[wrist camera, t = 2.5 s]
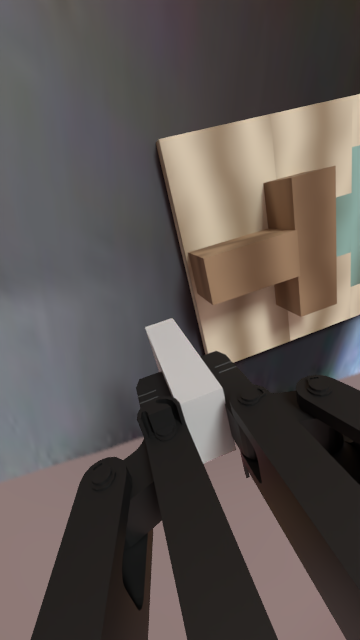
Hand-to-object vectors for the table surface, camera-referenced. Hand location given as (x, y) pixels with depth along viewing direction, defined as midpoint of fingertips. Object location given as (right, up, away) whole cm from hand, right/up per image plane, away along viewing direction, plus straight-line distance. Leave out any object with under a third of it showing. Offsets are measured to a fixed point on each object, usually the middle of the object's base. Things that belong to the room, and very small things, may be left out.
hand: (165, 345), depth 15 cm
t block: (+8, +8, +12) cm, 16 cm away
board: (+14, +10, +15) cm, 23 cm away
